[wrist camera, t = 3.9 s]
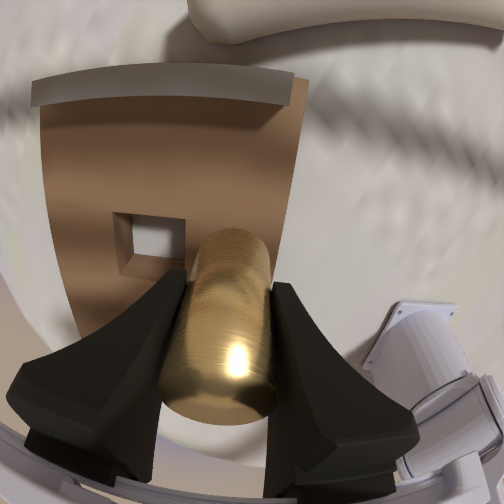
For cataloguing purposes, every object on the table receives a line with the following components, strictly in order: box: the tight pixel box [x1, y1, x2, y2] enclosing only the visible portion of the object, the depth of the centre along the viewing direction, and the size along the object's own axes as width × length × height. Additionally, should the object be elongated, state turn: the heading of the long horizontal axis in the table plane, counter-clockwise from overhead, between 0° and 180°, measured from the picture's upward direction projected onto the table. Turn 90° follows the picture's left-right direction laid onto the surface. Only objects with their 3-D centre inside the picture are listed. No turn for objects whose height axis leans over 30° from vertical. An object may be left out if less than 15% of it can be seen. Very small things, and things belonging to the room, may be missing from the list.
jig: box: [31, 63, 309, 339], centre depth 18 cm, size 22×16×5 cm
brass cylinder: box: [157, 228, 277, 425], centre depth 10 cm, size 3×3×7 cm
